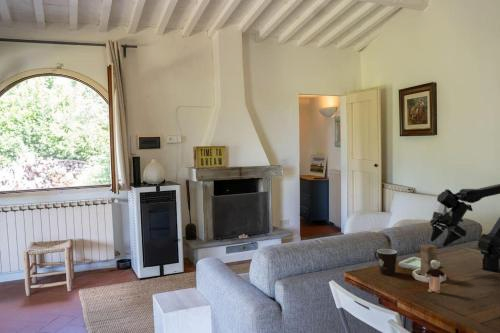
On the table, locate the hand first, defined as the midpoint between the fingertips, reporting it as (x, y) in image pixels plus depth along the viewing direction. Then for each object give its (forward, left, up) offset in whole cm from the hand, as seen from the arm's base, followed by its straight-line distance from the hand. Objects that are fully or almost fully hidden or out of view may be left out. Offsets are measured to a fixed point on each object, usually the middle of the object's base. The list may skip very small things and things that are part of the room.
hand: (437, 243), depth 178 cm
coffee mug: (+17, +13, -14) cm, 26 cm away
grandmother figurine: (-10, +21, -14) cm, 27 cm away
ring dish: (0, +7, -14) cm, 16 cm away
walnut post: (0, +7, -14) cm, 16 cm away
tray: (+11, -5, -14) cm, 18 cm away
